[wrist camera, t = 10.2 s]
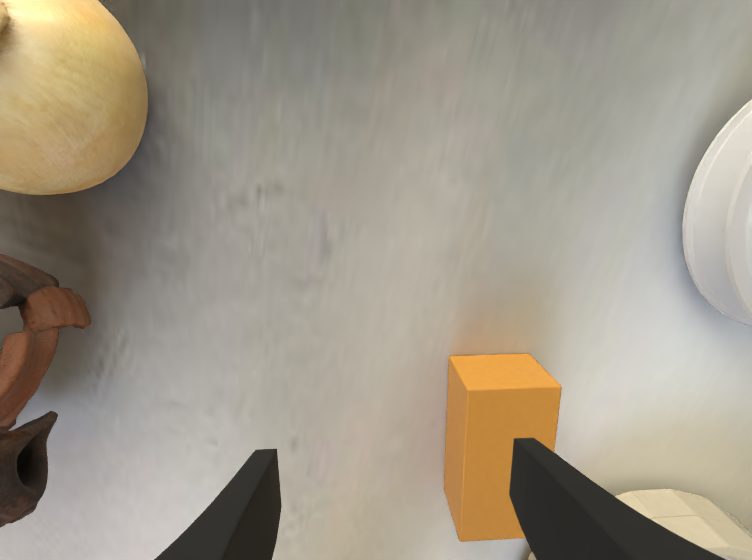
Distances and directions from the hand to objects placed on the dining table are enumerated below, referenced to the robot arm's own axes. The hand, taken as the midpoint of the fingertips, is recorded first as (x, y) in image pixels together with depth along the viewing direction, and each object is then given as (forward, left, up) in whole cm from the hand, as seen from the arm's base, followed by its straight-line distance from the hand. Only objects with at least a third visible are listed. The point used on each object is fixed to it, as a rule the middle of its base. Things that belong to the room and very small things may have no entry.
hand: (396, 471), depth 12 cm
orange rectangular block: (-5, -6, -9) cm, 12 cm away
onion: (+12, +13, -10) cm, 20 cm away
